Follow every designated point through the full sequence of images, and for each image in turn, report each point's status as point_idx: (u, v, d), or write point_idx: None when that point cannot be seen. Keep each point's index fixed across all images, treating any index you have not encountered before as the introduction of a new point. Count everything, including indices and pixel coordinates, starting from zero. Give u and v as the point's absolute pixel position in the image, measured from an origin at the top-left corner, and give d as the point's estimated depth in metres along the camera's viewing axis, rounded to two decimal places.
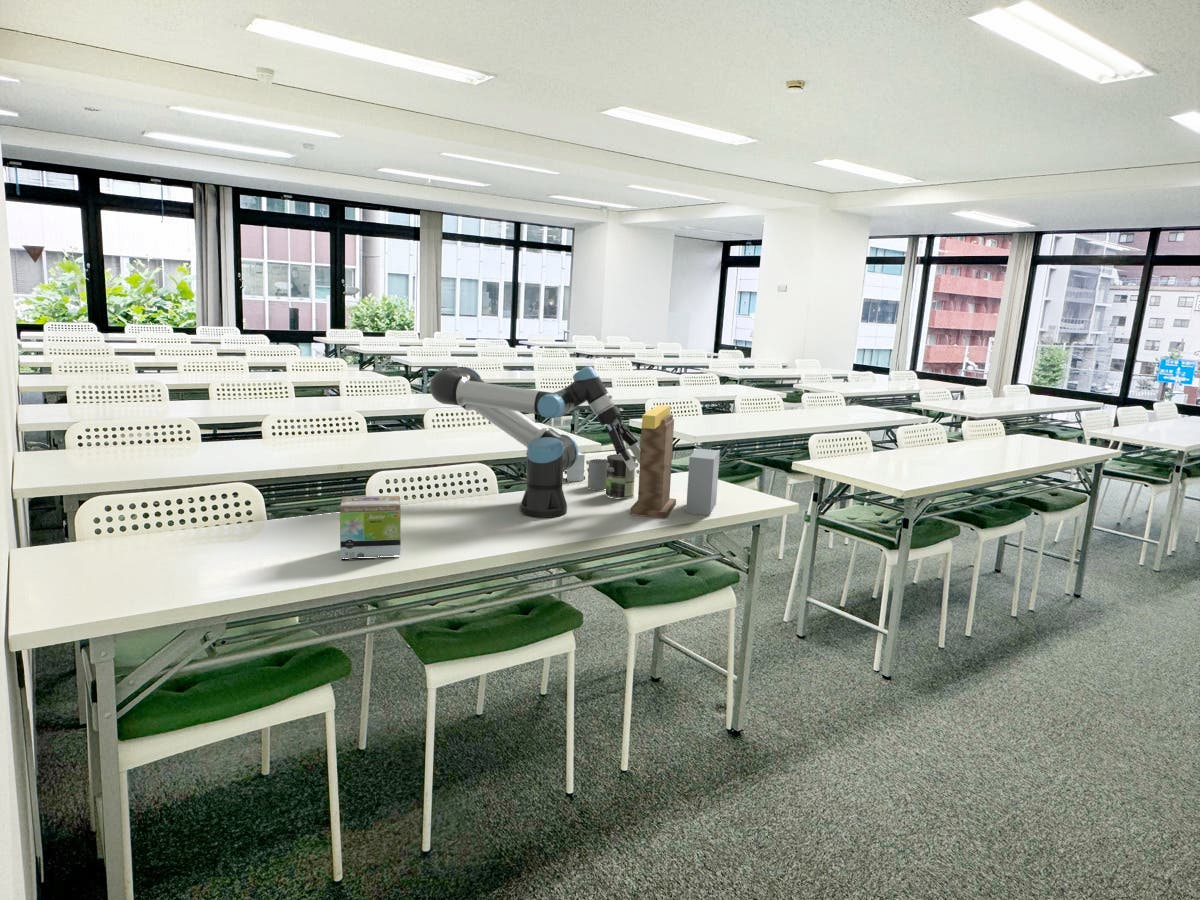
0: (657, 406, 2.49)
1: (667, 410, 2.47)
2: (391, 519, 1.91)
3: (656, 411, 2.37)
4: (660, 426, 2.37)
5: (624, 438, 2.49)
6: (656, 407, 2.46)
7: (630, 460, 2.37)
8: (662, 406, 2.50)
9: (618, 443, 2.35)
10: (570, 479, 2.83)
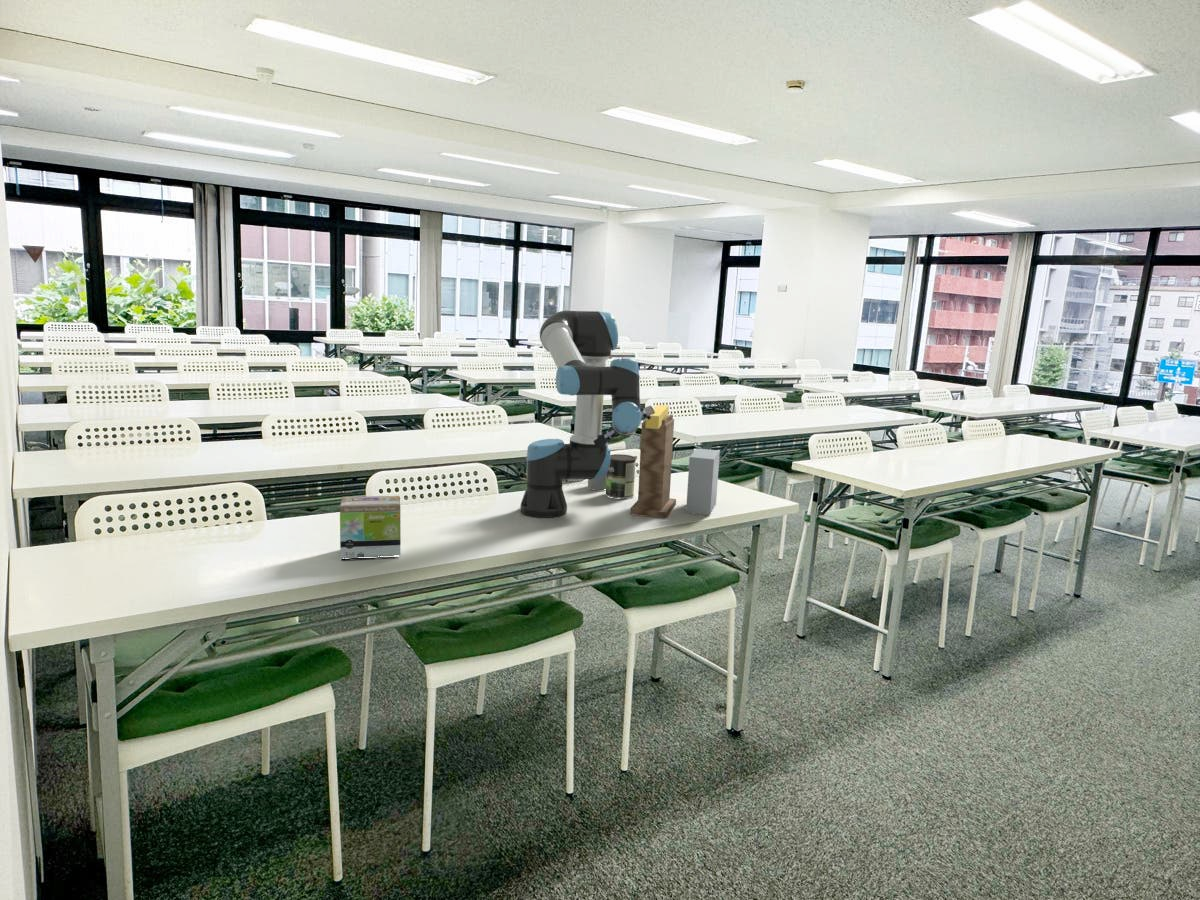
0: (656, 406, 2.49)
1: (666, 410, 2.47)
2: (391, 519, 1.91)
3: (657, 411, 2.37)
4: (660, 426, 2.37)
5: None
6: (655, 407, 2.46)
7: None
8: (661, 406, 2.50)
9: (598, 444, 2.18)
10: None
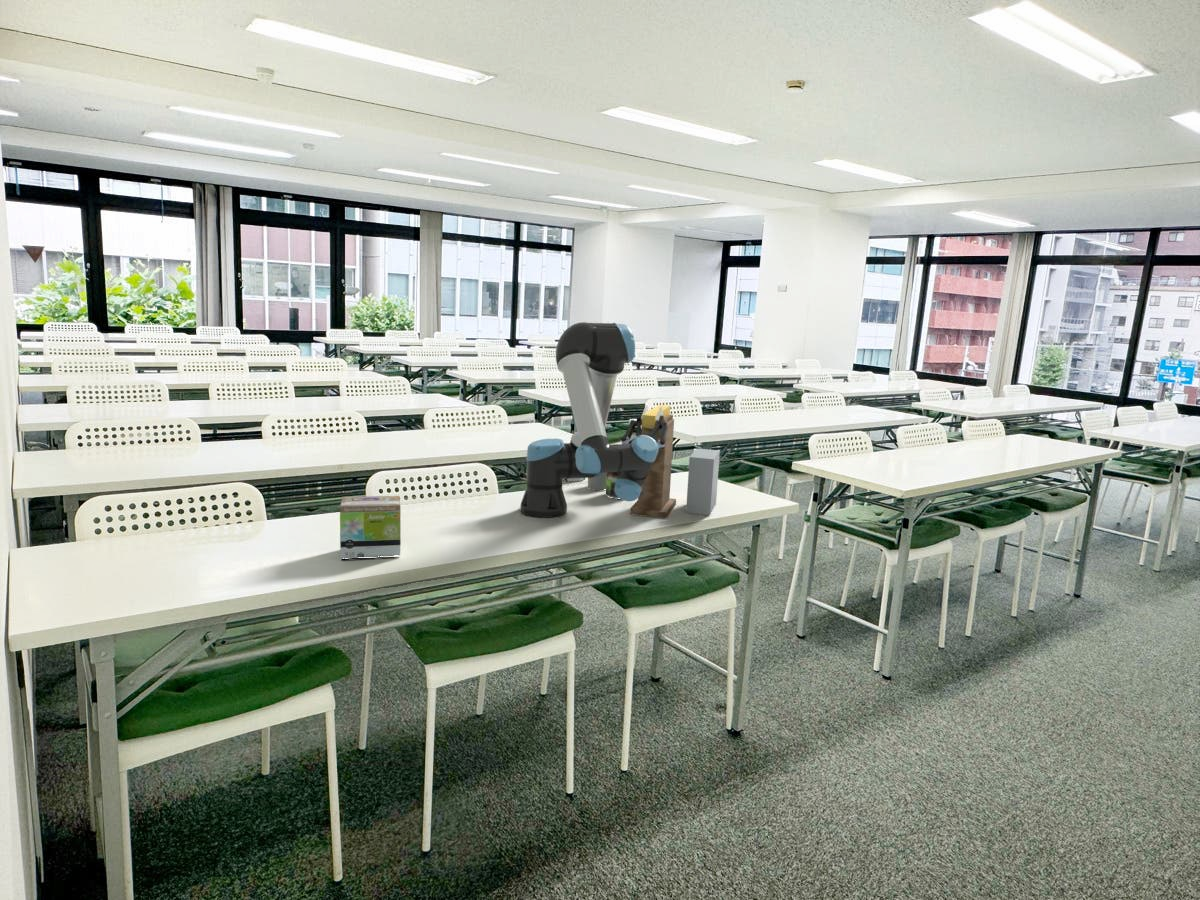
0: (657, 406, 2.49)
1: (667, 410, 2.47)
2: (391, 519, 1.91)
3: (656, 411, 2.37)
4: None
5: None
6: (656, 407, 2.47)
7: None
8: (662, 406, 2.50)
9: None
10: (570, 479, 2.83)
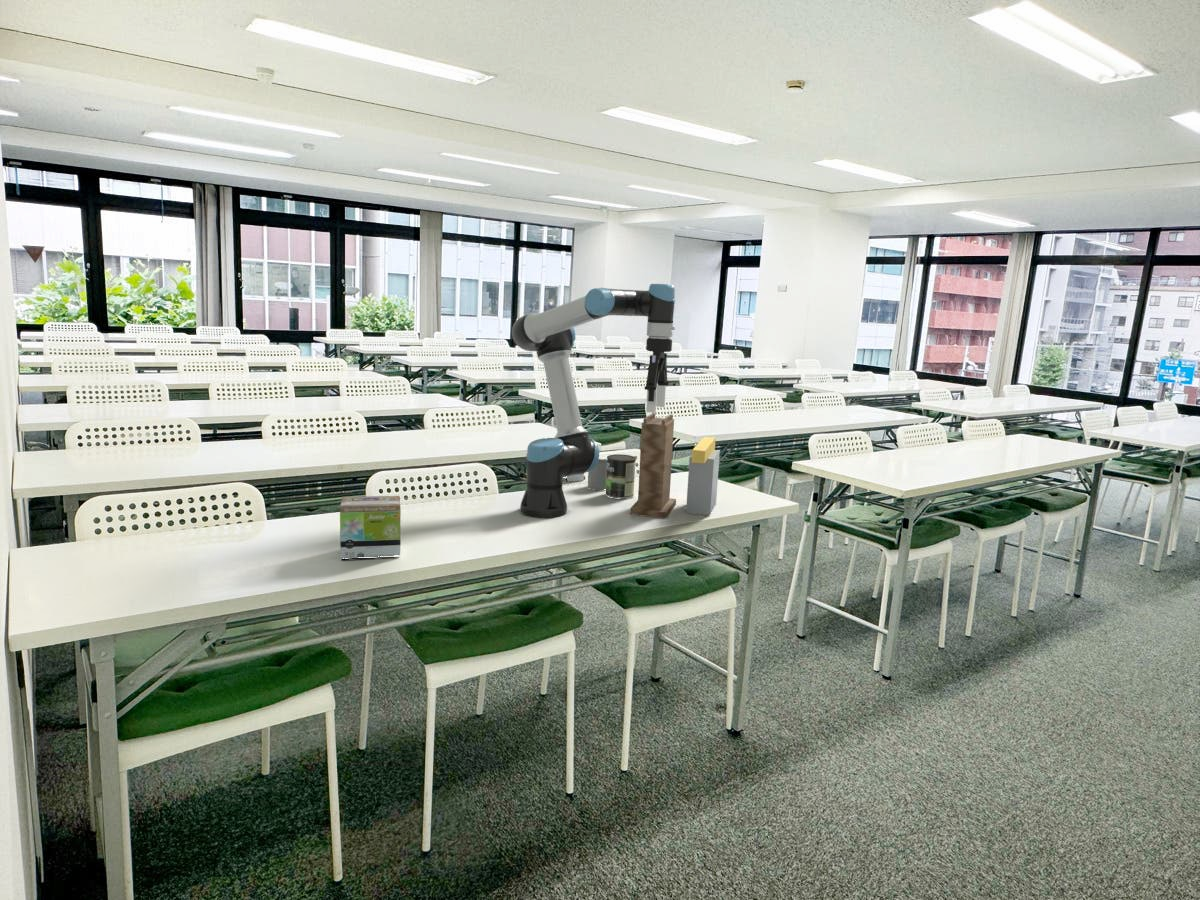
0: (703, 438, 2.55)
1: (713, 442, 2.53)
2: (391, 519, 1.91)
3: (704, 445, 2.43)
4: (660, 426, 2.37)
5: None
6: (702, 439, 2.52)
7: (653, 402, 2.14)
8: (708, 438, 2.55)
9: (652, 380, 2.11)
10: (570, 479, 2.83)
